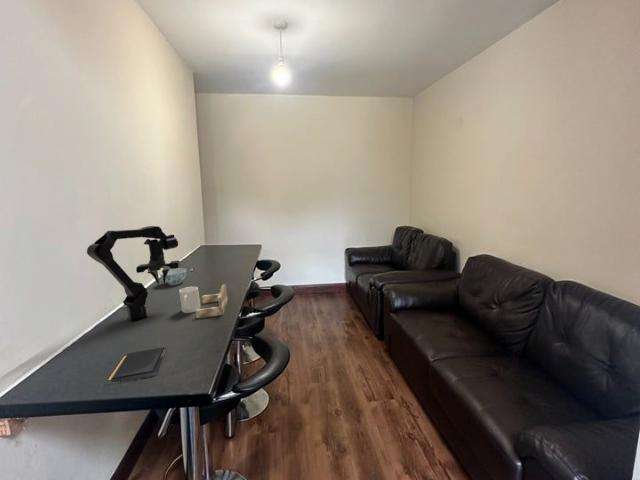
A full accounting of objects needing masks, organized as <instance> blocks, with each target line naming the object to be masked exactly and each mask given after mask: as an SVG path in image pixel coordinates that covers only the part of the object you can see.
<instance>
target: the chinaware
mask: <svg viewBox="0 0 640 480" xmlns="http://www.w3.org/2000/svg"><path fill="white" fill-rule="evenodd" d="M186 274H187V269H186V268H184V267H183V268H182V267H179V268H176V269H170V270H169V271H168V274H167V278H166V282H165V284H166V283H167V284H168V285H169V286H177V285H180V284H181V283H182V281H183V280H184V279H185V277H186ZM159 276H160V278H161V279H162V281H163V272H162V271H161V272H160V273H159Z"/></svg>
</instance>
